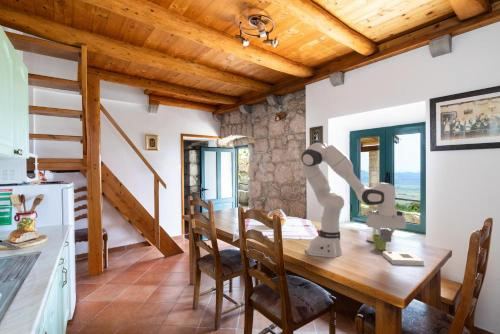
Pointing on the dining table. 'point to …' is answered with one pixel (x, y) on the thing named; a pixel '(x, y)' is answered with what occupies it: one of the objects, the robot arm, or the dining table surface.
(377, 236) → the plant pot
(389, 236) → the plug
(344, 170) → the robot arm
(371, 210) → the flower in vase
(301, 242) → the dining table surface
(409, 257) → the socket plate
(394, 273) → the dining table surface
